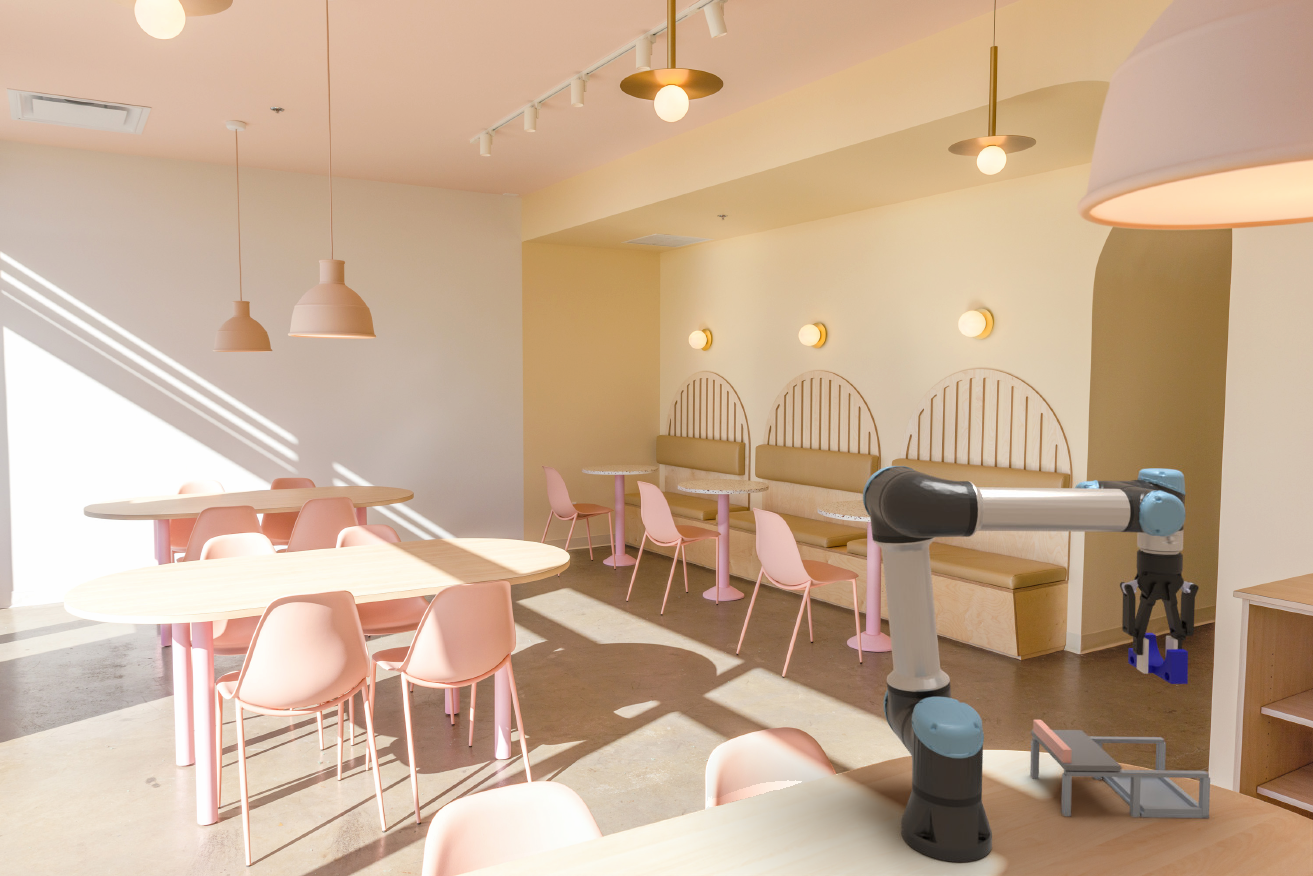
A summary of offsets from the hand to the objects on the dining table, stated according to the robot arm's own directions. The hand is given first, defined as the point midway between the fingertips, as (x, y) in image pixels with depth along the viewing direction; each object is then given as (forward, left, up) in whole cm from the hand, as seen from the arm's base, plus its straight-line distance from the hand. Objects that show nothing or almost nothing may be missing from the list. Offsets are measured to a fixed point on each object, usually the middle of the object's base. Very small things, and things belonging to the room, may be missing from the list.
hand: (1156, 671), depth 162 cm
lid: (-15, 0, -16) cm, 22 cm away
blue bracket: (0, 0, -1) cm, 1 cm away
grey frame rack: (-7, 0, -25) cm, 26 cm away
